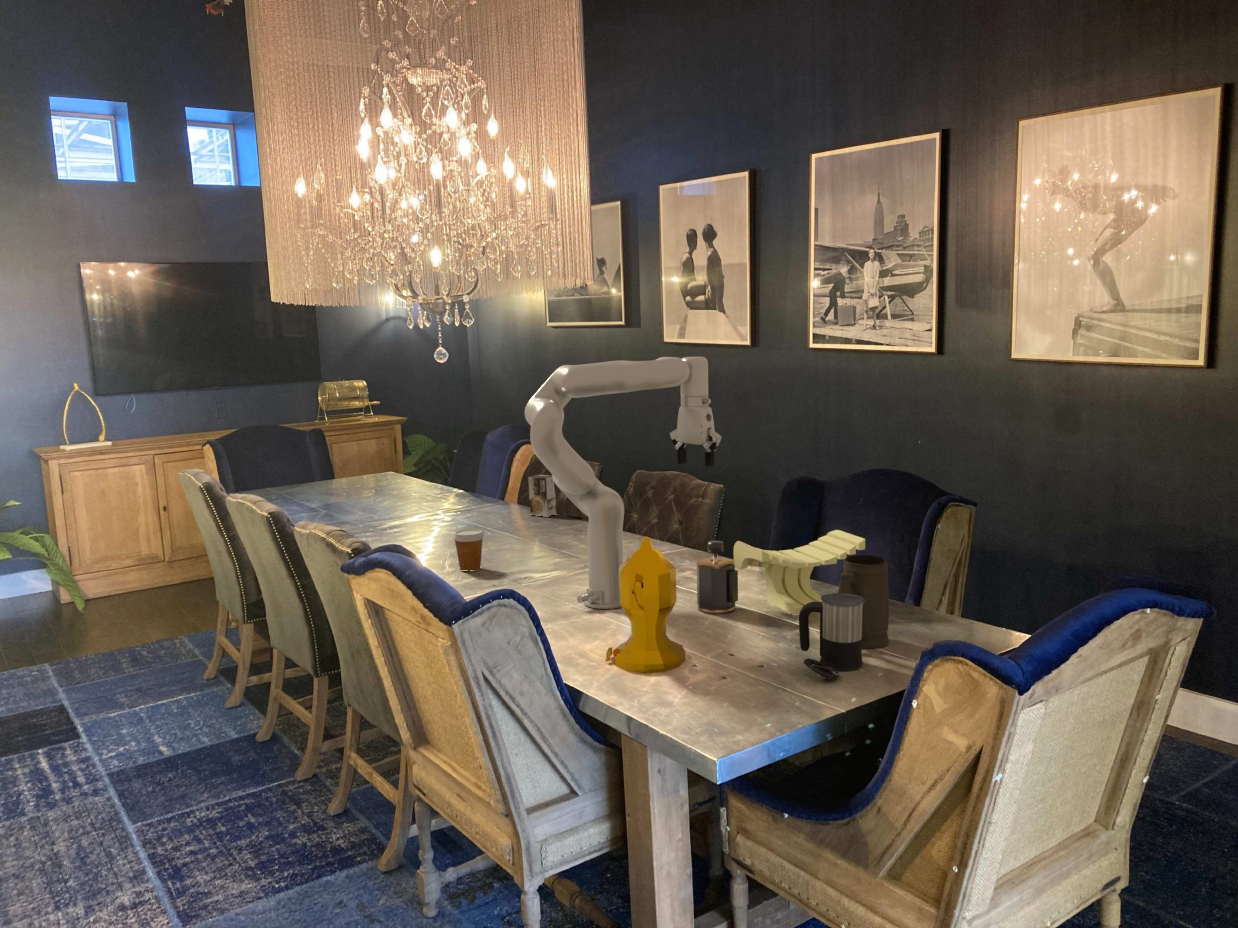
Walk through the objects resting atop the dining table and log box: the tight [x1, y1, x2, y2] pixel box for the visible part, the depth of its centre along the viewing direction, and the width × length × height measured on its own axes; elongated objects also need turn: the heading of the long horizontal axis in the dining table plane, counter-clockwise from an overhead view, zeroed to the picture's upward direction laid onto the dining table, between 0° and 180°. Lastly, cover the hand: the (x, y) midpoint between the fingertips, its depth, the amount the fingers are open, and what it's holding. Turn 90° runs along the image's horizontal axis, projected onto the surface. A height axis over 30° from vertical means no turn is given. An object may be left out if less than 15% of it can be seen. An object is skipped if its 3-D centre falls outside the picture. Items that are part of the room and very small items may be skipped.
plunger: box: [707, 540, 724, 562], centre depth 250 cm, size 6×6×15 cm
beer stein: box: [837, 554, 890, 649], centre depth 220 cm, size 15×11×20 cm
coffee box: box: [527, 474, 558, 518], centre depth 385 cm, size 9×6×16 cm
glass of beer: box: [452, 528, 485, 571], centre depth 300 cm, size 10×10×12 cm
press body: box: [696, 555, 739, 615], centre depth 251 cm, size 10×11×13 cm
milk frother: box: [798, 592, 865, 681], centre depth 204 cm, size 14×16×15 cm
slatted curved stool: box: [733, 529, 866, 616], centre depth 253 cm, size 30×16×18 cm, turn 110°
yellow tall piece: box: [604, 536, 687, 674], centre depth 213 cm, size 18×24×28 cm
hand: (695, 464), depth 263 cm, fingers open, 9 cm apart
